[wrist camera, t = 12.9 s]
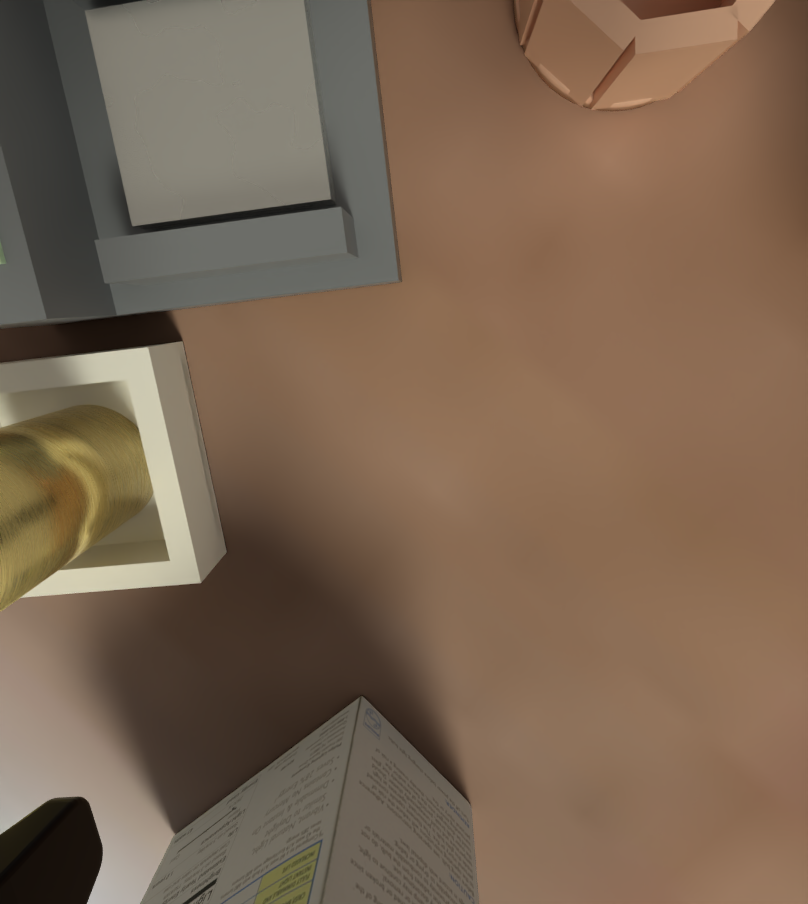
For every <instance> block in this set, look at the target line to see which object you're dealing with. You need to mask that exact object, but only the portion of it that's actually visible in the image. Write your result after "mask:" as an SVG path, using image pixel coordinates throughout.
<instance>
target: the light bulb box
mask: <svg viewBox="0 0 808 904" xmlns="http://www.w3.org/2000/svg"><path fill="white" fill-rule="evenodd" d="M140 904H479V897H478V885H477V873H476V858H475V847H474V834H473V821H472V809H471V805H470V804H469V803H468V801H467V800H466V799H465V798H464V797H463V796H462V795H461V794H460V793H459V792H458V791H457V790H456V789H455V788H454V787H453V786H452V785H451V784H450V783H449V782H448V781H447V780H446V779H445V778H444V777H443V776H442V775H441V774H440V773H439V772H438V771H437V770H436V769H435V768H434V767H433V766H432V765H431V764H430V763H429V762H428V761H427V760H426V759H425V758H424V757H423V756H422V755H421V754H420V753H419V752H418V751H417V750H416V749H415V748H414V747H413V746H412V745H411V744H410V743H409V742H408V741H407V740H406V739H405V738H404V737H403V736H402V734H400V733H399V732H398V731H397V730H396V729H395V728H394V727H393V726H392V725H391V724H390V723H389V722H388V721H387V720H386V719H385V718H384V717H383V716H382V715H381V714H380V713H379V712H378V711H377V710H376V709H375V708H374V707H373V706H372V705H371V704H370V703H369V702H368V701H367V700H366V699H365V698H364V697H363V696H360V697H359V698H358V699H357V700H355V701H354V702H352V703H351V704H350V705H348V706H347V707H346V708H344V709H343V710H342V711H340V712H339V713H337V714H336V715H335V716H334V717H332V718H331V719H330V720H328V721H327V722H326V723H324V724H323V725H322V726H320V727H319V728H318V729H316V730H315V731H314V732H312V733H311V734H310V735H308V736H307V737H306V738H304V739H303V740H302V741H300V742H299V743H298V744H296V745H295V746H294V747H292V748H291V749H290V750H288V751H287V752H286V753H284V754H283V755H282V756H280V757H279V758H278V759H276V760H275V761H274V762H273V763H271V764H270V765H268V766H267V767H266V768H264V769H263V770H262V771H260V772H259V773H258V774H256V775H255V776H254V777H252V778H251V779H249V780H248V781H247V782H246V783H244V784H243V785H242V786H240V787H239V788H238V789H236V790H235V791H234V792H232V793H231V794H229V795H228V796H227V797H225V798H224V799H223V800H221V801H220V802H219V803H217V804H216V805H215V806H213V807H212V808H211V809H209V810H208V811H207V812H205V813H204V814H203V815H201V816H200V817H199V818H197V819H196V820H195V821H193V822H192V823H191V824H189V825H188V826H187V827H185V828H184V829H183V830H181V831H180V832H178V833H177V834H176V835H175V836H174V837H173V838H172V840H171V843H170V845H169V847H168V849H167V851H166V853H165V855H164V857H163V859H162V861H161V863H160V865H159V867H158V869H157V871H156V873H155V875H154V877H153V879H152V881H151V883H150V885H149V887H148V889H147V891H146V893H145V895H144V897H143V899H142V901H141V903H140Z"/></svg>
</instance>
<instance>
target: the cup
mask: <svg viewBox="0 0 808 904" xmlns="http://www.w3.org/2000/svg"><path fill="white" fill-rule="evenodd" d="M774 1H775V0H514V13H515V22H516V26H517V31H518V35H519V41H520V45H522V47H523V49H524V52H525V54H524V55H525V56H526V57H527V58H528V60H529V62H530V63H531V65H532V67H533V68H534V69H535V71H536V72H537V74H538V75H539V76H540V78H541V79H542V80H543V81H544V82H545V83H546V84H547V85H548V86H549V87H550V88H551V89H553V90H554V91H555V92H556V93H558V94H559V95H560V96H562V97H564V98H565V99H567V100H569V101H571V102H572V103H575V104H578V105H580V106H581V107H582V106H583V107H586V108H590V109H591V110H601V111H622V110H629V109H634V108H638V107H642V106H645V105H647V104H650V103H653V102H655V101H657V100H664V99H669V98H670V97H671V96H672V95H673V94H675V93H676V92H677V93H679V92H680V91H681V90H682V89H683V88H684V87H686V86H687V85H688V84H689V83H690V82H691V81H693V80H694V79H695V78H696V77H697V76H698V75H700V74H701V73H702V72H703V71H704V70H705V69H707V68H708V67H709V66H710V65H711V64H712V63H714V62H715V61H716V60H717V59H718V58H719V57H721V56H722V55H723V54H724V53H725V52H726V51H728V50H729V49H730V48H731V47H732V46H733V45H735V44H736V43H737V42H738V41H739V40H740V39H742V38H743V37H744V36H745V35H746V34H747V33H749V32H750V30H751V29H752V28H753V27H754V26H755V24H756V23H757V22H758V21H759V20H760V18H761V17H762V16H763V15H764V14H765V12H766V11H767V10H768V9H769V7H770V6H771V5H772V4H773V3H774Z"/></svg>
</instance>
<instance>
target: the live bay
mask: <svg viewBox="0 0 808 904" xmlns="http://www.w3.org/2000/svg"><path fill="white" fill-rule="evenodd" d="M88 404H89V405H98V406H103V407H106V408H109V409H112V410H114V411H116V412H118V413H120V414H122V415H123V416H125V417H126V418H128V419H129V420H130V421H132V422H133V423H134V424H135V425H136V426H137V427H138V428H139V432H140V436H141V441H142V445H143V449H144V453H145V457H146V462H147V466H148V470H149V474H150V479H151V483H152V487H153V491H154V493H153V495H152V497H151V499H150V501H149V502H148V504H147V505H146V506H145V507H144V508H143V509H142V510H141V511H140V512H139V513H138V514H136V515H135V516H134V517H132V518H131V519H129V520H128V521H127V522H125V523H124V524H122V525H121V526H120V527H118V528H117V529H115V530H114V531H113V532H111V533H110V534H108V535H107V536H106V537H104V538H103V539H101V540H100V541H99V542H97V543H96V544H94V545H93V546H92V547H90V548H89V549H87V550H86V551H85V552H83V553H82V554H81V555H79V556H78V557H76V558H75V559H74V560H72V561H71V562H69V563H68V564H67V565H65V566H64V567H62V568H61V569H60V570H58V571H57V572H55V573H54V574H53V575H51V576H50V577H48V578H47V579H46V580H44V581H43V582H41V583H40V584H39V585H37V586H36V587H34V588H33V589H32V590H30V591H29V592H27V593H26V594H25V595H23V596H22V597H33V596H46V595H58V594H71V593H83V592H96V591H108V590H121V589H133V588H145V587H158V586H170V585H183V584H195V583H202V581H203V580H204V579H205V578H206V577H207V575H208V574H209V573H210V572H211V571H212V569H213V568H214V567H215V566H216V565H217V563H218V562H219V561H220V560H221V559H222V557H223V556H224V555H225V554H226V553H227V551H226V546H225V541H224V536H223V531H222V527H221V522H220V517H219V512H218V508H217V503H216V498H215V493H214V488H213V484H212V479H211V474H210V469H209V465H208V460H207V455H206V450H205V445H204V441H203V436H202V431H201V426H200V422H199V417H198V412H197V407H196V402H195V398H194V393H193V388H192V383H191V379H190V374H189V369H188V364H187V359H186V355H185V350H184V345H183V341H181V342H172V343H164V344H155V345H147V346H138V347H130V348H121V349H113V350H104V351H96V352H87V353H79V354H70V355H62V356H54V357H45V358H37V359H28V360H20V361H11V362H3V363H0V428H1V427H4V426H8V425H11V424H14V423H18V422H21V421H25V420H28V419H31V418H35V417H38V416H42V415H45V414H48V413H52V412H55V411H58V410H62V409H65V408H69V407H72V406H77V405H88ZM20 598H21V597H20Z"/></svg>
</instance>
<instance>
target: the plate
mask: <svg viewBox="0 0 808 904" xmlns="http://www.w3.org/2000/svg"><path fill="white" fill-rule="evenodd" d="M85 14H86V19H87V23H88V28H89V32H90V37H91V41H92V46H93V50H94V55H95V60H96V64H97V69H98V73H99V78H100V82H101V87H102V91H103V96H104V100H105V105H106V109H107V114H108V119H109V123H110V128H111V132H112V137H113V141H114V146H115V150H116V155H117V159H118V164H119V169H120V173H121V178H122V182H123V187H124V191H125V196H126V200H127V205H128V209H129V214H130V218H131V223H132V226H133V227H138V228H142V229H146V230H150V229H157V228H165V227H172V226H179V225H187V224H194V223H201V222H209V221H216V220H224V219H231V218H238V217H246V216H253V215H260V214H268V213H275V212H282V211H290V210H297V209H305V208H312V207H319V206H327V205H334V204H336V197H335V190H334V183H333V175H332V168H331V160H330V153H329V146H328V138H327V131H326V123H325V116H324V109H323V101H322V94H321V86H320V79H319V72H318V64H317V57H316V49H315V42H314V35H313V27H312V20H311V12H310V5H309V0H143V1H138V2H132V3H126V4H120V5H114V6H108V7H103V8H97V9H91V10H85Z"/></svg>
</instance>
